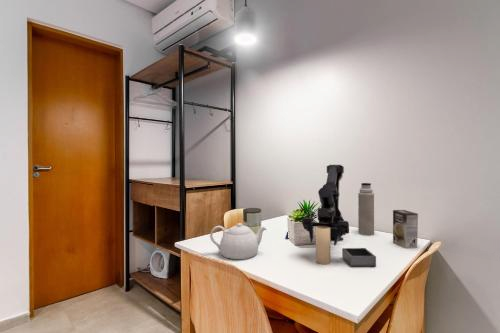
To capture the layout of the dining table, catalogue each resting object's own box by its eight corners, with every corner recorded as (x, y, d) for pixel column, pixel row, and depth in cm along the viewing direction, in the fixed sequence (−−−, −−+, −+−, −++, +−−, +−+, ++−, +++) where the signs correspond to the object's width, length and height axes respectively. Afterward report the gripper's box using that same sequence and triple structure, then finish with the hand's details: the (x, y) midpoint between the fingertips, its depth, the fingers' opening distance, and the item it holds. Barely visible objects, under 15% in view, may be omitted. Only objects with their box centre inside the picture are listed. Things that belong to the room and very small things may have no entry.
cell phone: (285, 240, 138) (285, 238, 138) (287, 232, 151) (287, 231, 151) (299, 240, 136) (299, 239, 136) (300, 233, 150) (300, 232, 150)
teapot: (240, 244, 131) (239, 217, 131) (267, 253, 118) (267, 222, 118) (209, 254, 118) (208, 223, 118) (236, 265, 105) (236, 231, 105)
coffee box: (392, 242, 130) (392, 209, 130) (404, 241, 131) (404, 209, 131) (405, 248, 121) (405, 213, 121) (418, 247, 122) (418, 213, 122)
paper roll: (313, 260, 109) (313, 226, 108) (325, 258, 111) (325, 224, 110) (321, 265, 103) (320, 229, 103) (333, 263, 105) (333, 228, 105)
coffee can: (239, 235, 146) (239, 210, 146) (250, 231, 154) (250, 207, 154) (254, 238, 140) (254, 212, 140) (265, 233, 148) (264, 208, 148)
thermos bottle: (358, 231, 151) (357, 182, 151) (373, 232, 149) (373, 182, 148) (358, 234, 144) (358, 183, 143) (375, 236, 141) (374, 183, 140)
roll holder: (342, 257, 111) (342, 248, 111) (365, 257, 111) (365, 248, 111) (350, 267, 101) (350, 256, 101) (375, 266, 101) (375, 256, 101)
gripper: (302, 199, 115) (296, 230, 105) (348, 201, 106) (345, 235, 97) (307, 213, 122) (301, 244, 112) (350, 217, 114) (347, 250, 104)
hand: (322, 243), depth 106 cm, fingers open, 9 cm apart
